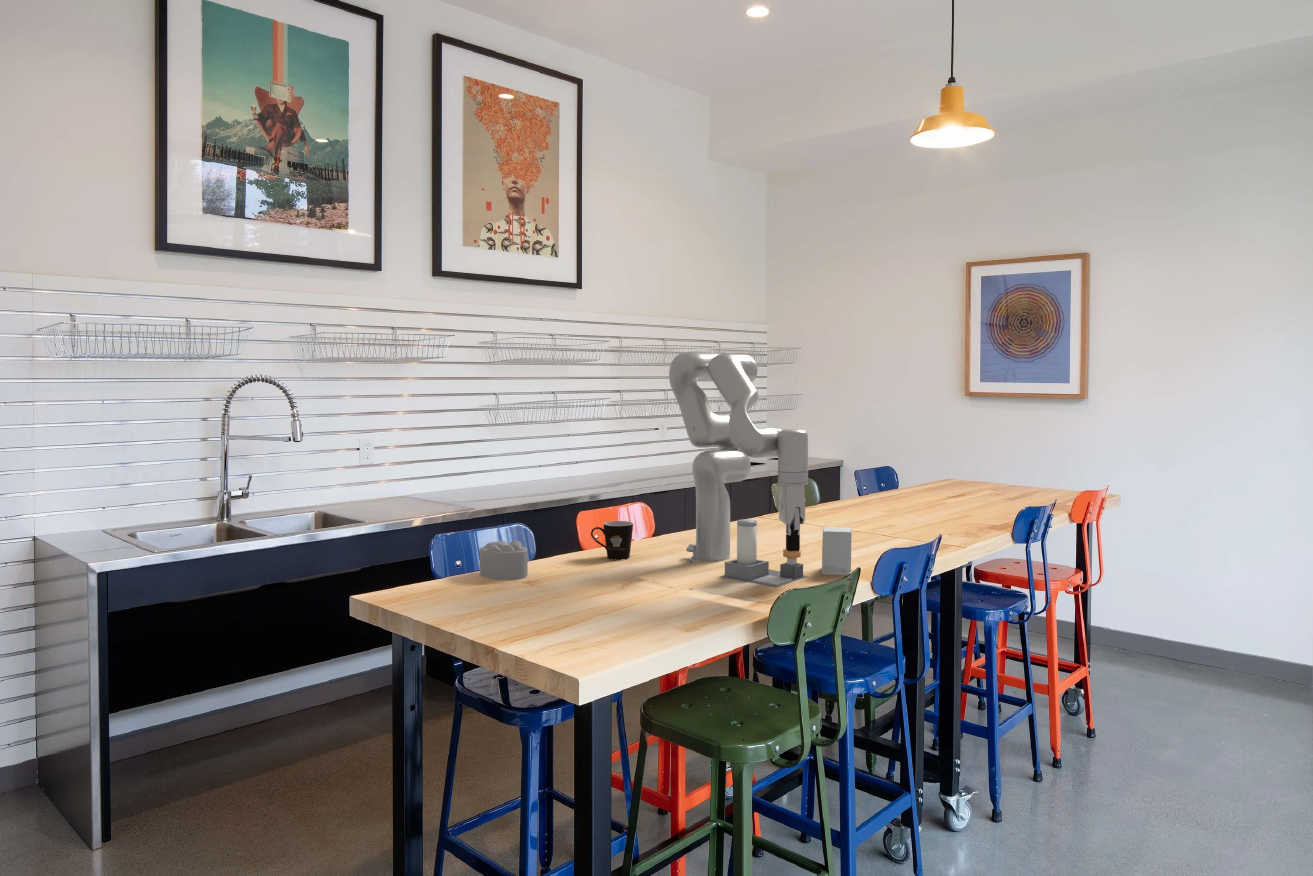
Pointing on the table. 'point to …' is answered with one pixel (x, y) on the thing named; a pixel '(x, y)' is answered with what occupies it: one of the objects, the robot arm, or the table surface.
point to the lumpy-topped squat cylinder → (504, 561)
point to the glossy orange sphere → (791, 556)
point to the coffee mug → (616, 539)
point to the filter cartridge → (747, 542)
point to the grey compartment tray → (763, 573)
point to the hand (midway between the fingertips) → (792, 550)
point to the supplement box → (836, 551)
